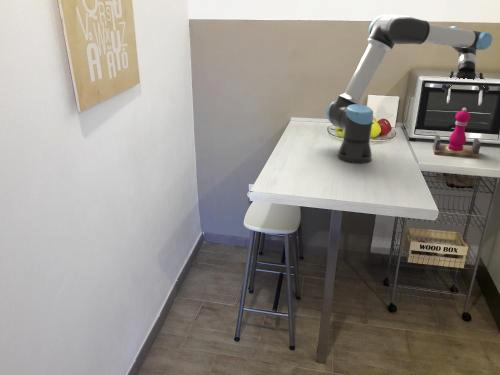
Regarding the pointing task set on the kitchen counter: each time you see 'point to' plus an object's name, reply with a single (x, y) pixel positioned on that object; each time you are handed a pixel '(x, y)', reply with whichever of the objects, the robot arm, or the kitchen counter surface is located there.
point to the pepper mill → (459, 131)
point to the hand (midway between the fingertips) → (463, 102)
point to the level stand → (466, 152)
